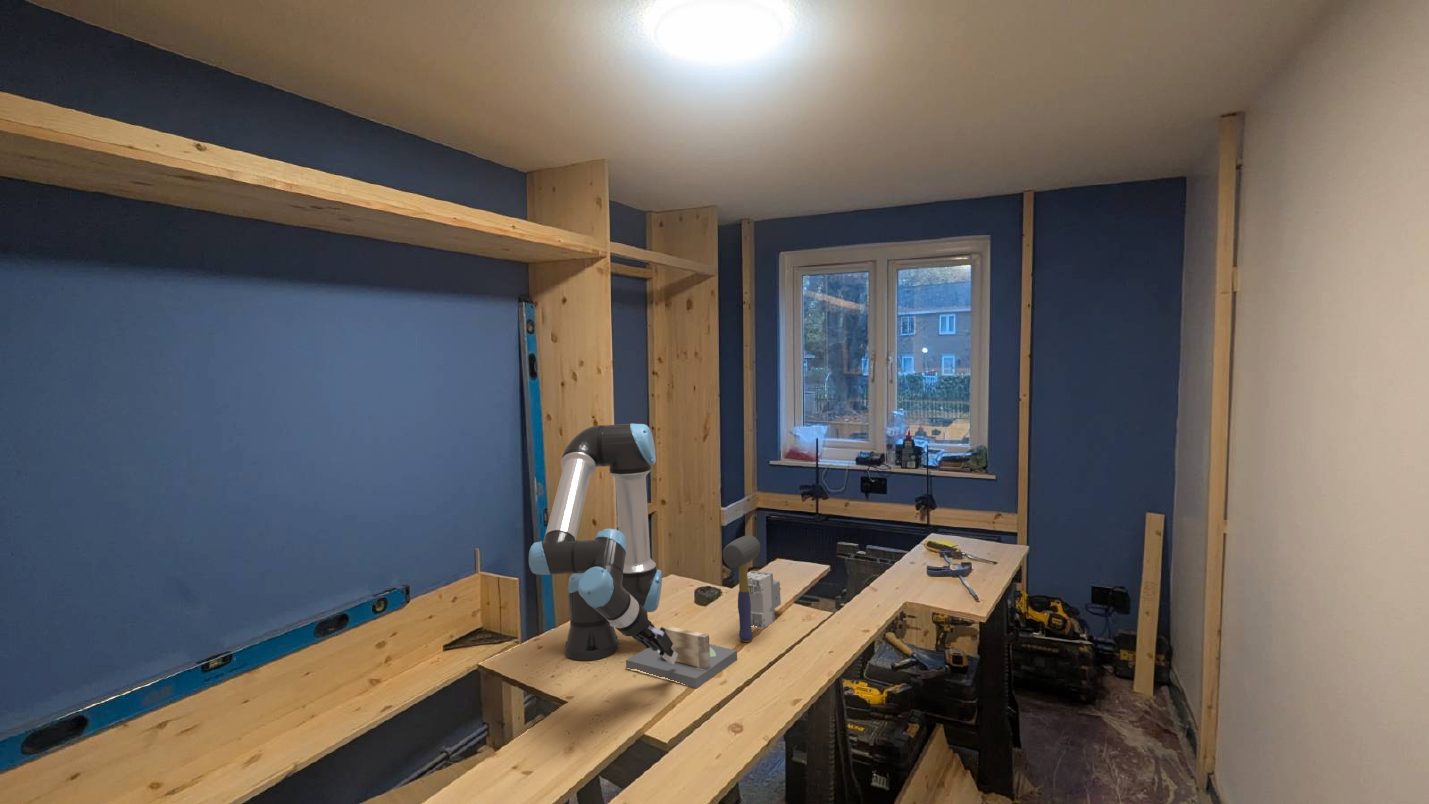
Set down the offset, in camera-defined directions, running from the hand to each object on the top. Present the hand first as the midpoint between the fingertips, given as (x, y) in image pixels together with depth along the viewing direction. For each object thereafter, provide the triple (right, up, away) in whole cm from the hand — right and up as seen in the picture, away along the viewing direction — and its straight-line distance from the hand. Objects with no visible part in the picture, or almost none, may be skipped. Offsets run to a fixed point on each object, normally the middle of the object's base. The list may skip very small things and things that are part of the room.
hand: (673, 658), depth 162 cm
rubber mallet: (+20, -4, +23) cm, 31 cm away
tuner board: (+2, -5, +9) cm, 11 cm away
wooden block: (+3, -3, +5) cm, 6 cm away
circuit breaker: (+26, -4, +40) cm, 47 cm away
